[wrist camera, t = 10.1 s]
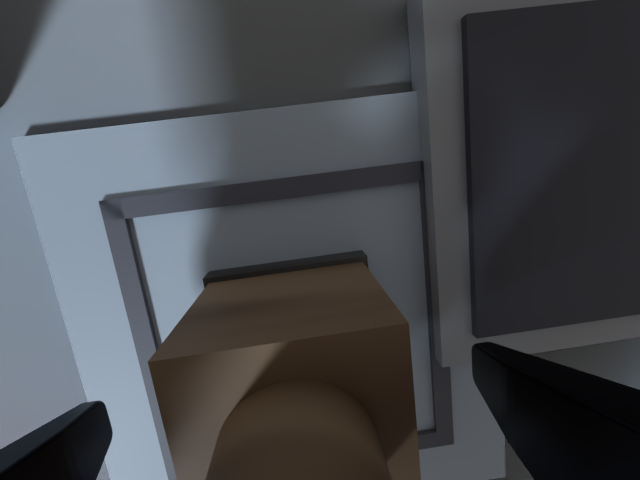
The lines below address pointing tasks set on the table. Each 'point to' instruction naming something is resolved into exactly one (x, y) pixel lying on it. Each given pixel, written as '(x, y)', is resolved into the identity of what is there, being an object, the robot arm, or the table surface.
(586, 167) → the ink pad
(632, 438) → the robot arm
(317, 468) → the stamp
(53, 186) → the board
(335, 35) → the table surface
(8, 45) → the table surface
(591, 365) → the table surface
